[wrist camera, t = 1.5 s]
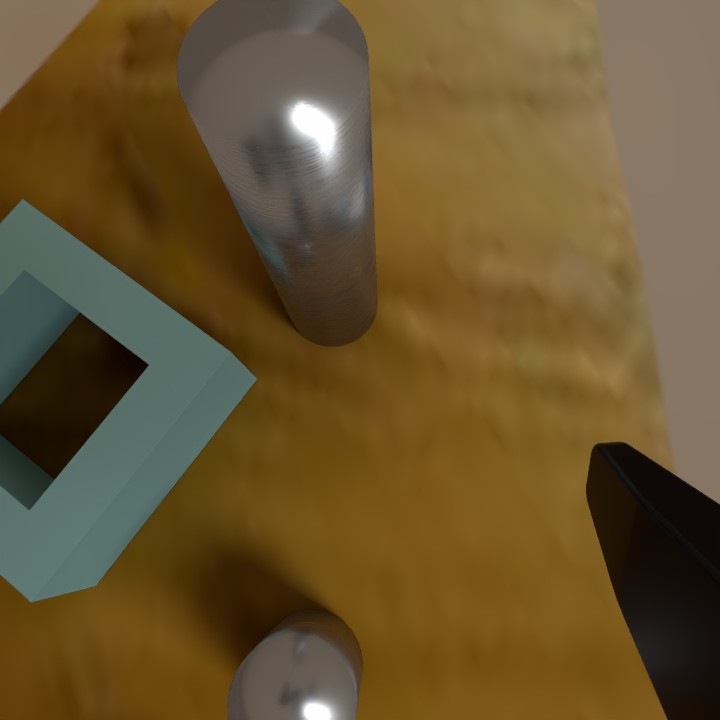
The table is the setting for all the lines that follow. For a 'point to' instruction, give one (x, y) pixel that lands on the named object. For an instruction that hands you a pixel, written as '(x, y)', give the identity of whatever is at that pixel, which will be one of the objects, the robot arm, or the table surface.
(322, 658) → the short pin
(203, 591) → the table surface
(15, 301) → the hole block
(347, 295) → the tall pin
